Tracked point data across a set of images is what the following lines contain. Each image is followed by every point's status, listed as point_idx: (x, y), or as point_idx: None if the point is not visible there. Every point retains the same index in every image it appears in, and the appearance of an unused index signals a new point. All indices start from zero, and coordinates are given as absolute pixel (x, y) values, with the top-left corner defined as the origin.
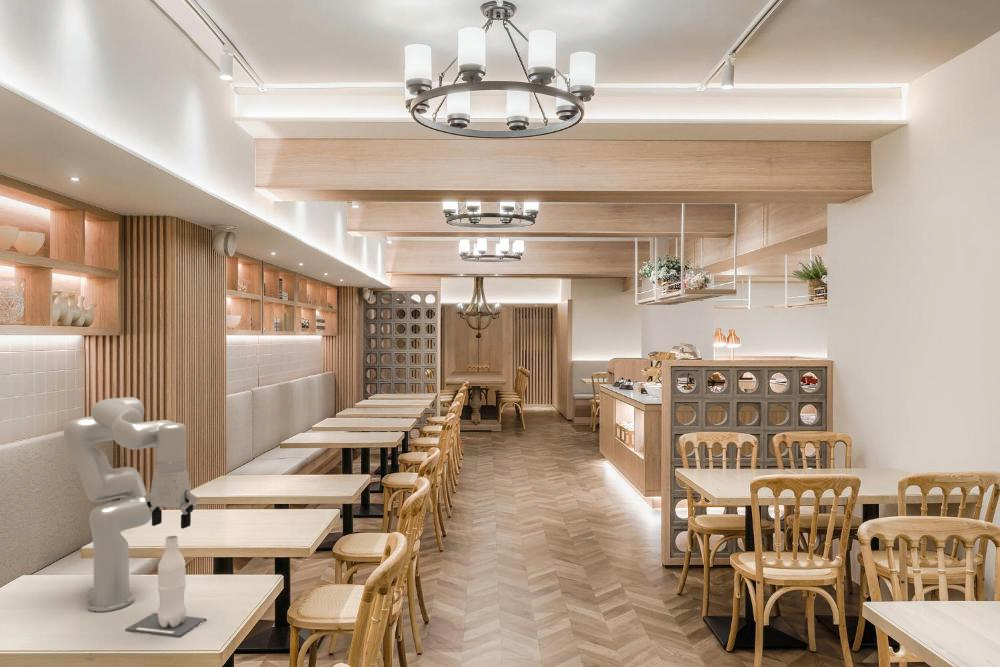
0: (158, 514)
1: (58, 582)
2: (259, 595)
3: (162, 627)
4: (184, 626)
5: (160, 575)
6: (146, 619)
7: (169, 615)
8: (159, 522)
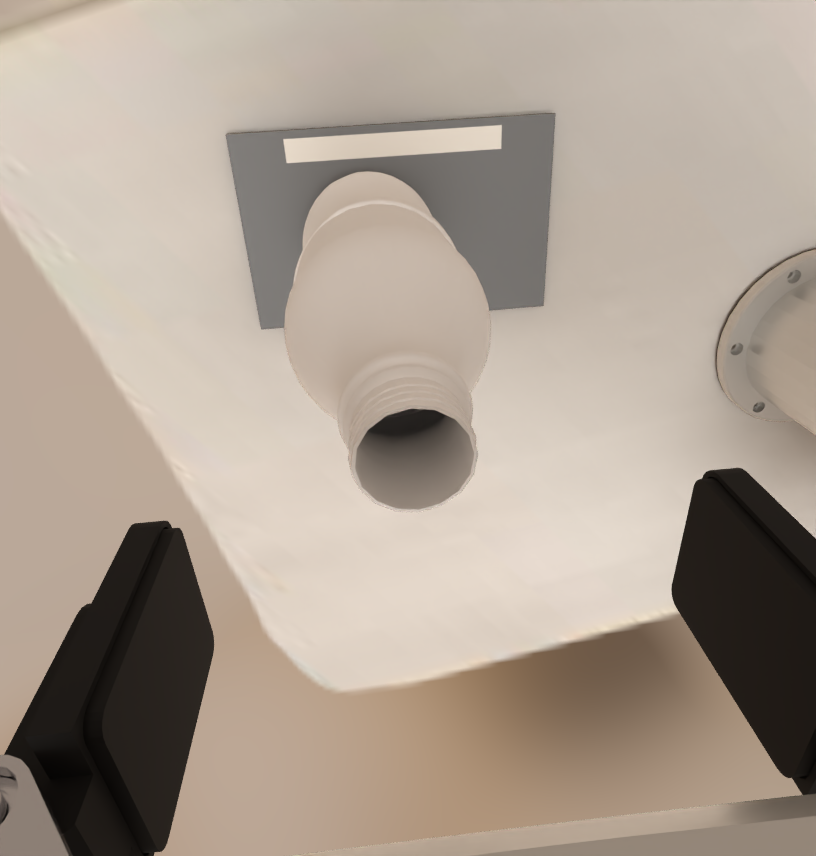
0: (769, 671)
1: None
2: (250, 569)
3: None
4: (288, 227)
5: (406, 222)
6: (527, 237)
7: (334, 189)
8: (687, 577)
